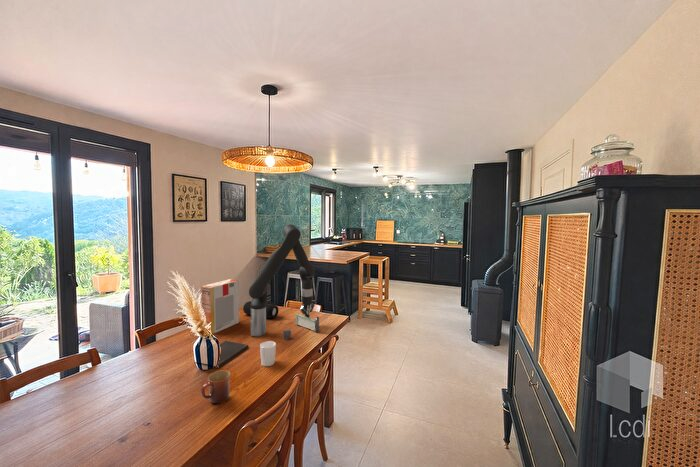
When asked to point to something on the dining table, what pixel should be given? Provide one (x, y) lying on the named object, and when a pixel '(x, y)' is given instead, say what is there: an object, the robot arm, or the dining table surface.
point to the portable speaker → (270, 310)
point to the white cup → (267, 353)
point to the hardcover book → (230, 351)
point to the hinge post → (317, 325)
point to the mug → (217, 386)
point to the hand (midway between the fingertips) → (307, 319)
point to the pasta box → (221, 304)
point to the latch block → (287, 334)
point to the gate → (305, 322)
